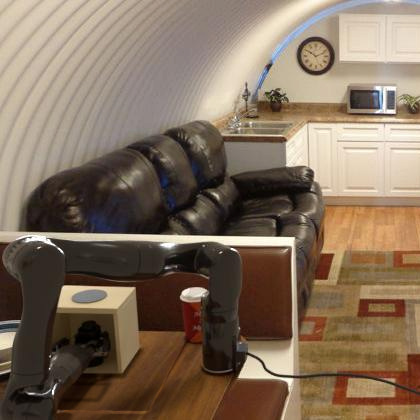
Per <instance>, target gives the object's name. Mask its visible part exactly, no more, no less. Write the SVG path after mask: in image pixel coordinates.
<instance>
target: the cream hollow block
mask: <svg viewBox="0 0 420 420" xmlns="http://www.w3.org/2000/svg"><path fill="white" fill-rule="evenodd" d="M89 320H93V321H96V324H99V325H100V326H101V334H102V333H103V332H104V331H107V332H108V333H109V339H110V345H111V349H110V352H109V355H108V358H106V359H104V362H103V363H102V364H101V365H99V366H96V367H91V368H86V369H85V370H84V372H83V373H82V374H123V373H124V371H125V370H126V368H127V367H128V366H129V364H130V363H131V361H132V360H133V358H134V357H135V355H136V354H137V352H138V351H139V349H140V348H141V347H140V334H139V318H138V304H137V291H136V287H135V286H98V285H97V286H95V285H94V286H93V285H63V286H62V290H61V294H60V298H59V303H58V308H57V312H56V317H55V323H54V329H53V338H52V345H53V344H55V343H56V342H58V341H59V340H61V339H62V338H67V339H70V337H73V336H74V335H75V334H76V333H78V328H79V327H81V326H82V323H83V322H85V321H89Z"/></svg>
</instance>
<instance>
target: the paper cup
mask: <svg viewBox="0 0 420 420" xmlns="http://www.w3.org/2000/svg"><path fill="white" fill-rule="evenodd" d="M206 291H208V290H207V289H205V287H197V286H196V287H188V288H186V289H184V290H182V291H181V294H180V296H179V299H180V300H181V309H182V316H183V317H182V318H183V325H184V334H185V338H186V341H187V342H188V343H192V344H193V343H194V344H196V343H202V328H201V296H202V294H203V293H205V292H206Z"/></svg>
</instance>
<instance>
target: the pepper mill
mask: <svg viewBox="0 0 420 420" xmlns="http://www.w3.org/2000/svg"><path fill="white" fill-rule="evenodd" d="M100 335H101V326H100V325H99V324H96V321H93V320H89V321H85V322H83V323H82V326H81V327H79V328H78V338H79V343H80V344H85V343H87V342H89V341H91V340H96V339H98V338H99V336H100ZM98 345H99V343H98ZM103 362H104V359H102V356H96V357H95V358H94V359H92V360H91V361H90V362H89V364H88V366H87V368H91V367H96V366H99V365H101V364H102V363H103Z"/></svg>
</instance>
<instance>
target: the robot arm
mask: <svg viewBox="0 0 420 420" xmlns="http://www.w3.org/2000/svg"><path fill="white" fill-rule="evenodd" d="M2 263H3V266H4V268H5V269H6V271H7V272H8V273H9V275H11V276H12V277H13V278H15V279H16V281H18V282H20V285H21V292H22V305H23V306H22V312H21V318H20V321H19V324H18V327H17V329H16V331H15V334H14V337H13V340H12V346H11V354H10V355H11V356H10V372H9V373H10V374H9V378H8V381H7V385H6V388H5V391H4V393H3V396H2V398H1V401H0V420H55V418H56V417H57V412H58V409H59V405H60V402H61V400H62V398H63V396H64V394H66V392H67V391H68V390H69V389H70V388H71V387H72V386H73V385H74V384H75V383H76V381H78V379H79V378H80V377H81V375H82V374H84V373H83V372H84V370H85V369H86V368H87V366H88V364H89V362H90V361H91V360H92V359H94V358H95V357H96V356H102V359H106V358H108V355H109V352H110V349H111V345H110V339H109V333H108V332H107V331H104V332H103V333H102V334H101V335H100V336H99V338H98V339H96V340H91V341H89V342H87V343H85V344H80V343H79V338H78V333H76V334H75V335H74V336H73V337H70V339H67V338H62V339H61V340H59V341H58V342H56V343H55V344H53V345H52V338H53V329H54V323H55V317H56V312H57V308H58V303H59V298H60V294H61V290H62V287H63V286H64V283H65V279H66V275H79V276H85V277H91V278H96V279H100V280H106V281H111V282H121V283H144V282H152V281H156V280H159V279H162V278H164V277H166V276H169V275H172V274H190V275H198V276H200V277H201V276H202V277H203V278H205V279H208V290H207V291H206V292H205V293H203V294H202V296H201V328H202V341H201V350H202V351H201V352H202V353H201V354H202V355H201V356H202V364H201V365H202V370H203V371H204V372H205V373H208V374H210V375H218V376H219V375H227V374H231V373H235V372H238V371H239V368H240V366H241V363H246V361H247V358H248V357H251V358H253V359H255V360H257V361H258V362H259V363H260V364H261V366H262V369H263V370H264V372H266V373H267V374H269V375H271V376H272V377H275V378H276V377H277V378H284V379H296V380H297V379H298V380H299V379H310V378H322V377H324V378H325V377H348V378H350V377H351V378H359V379H367V380H372V381H376V382H381V383H384V384H388V385H390V386H394V387H396V388H399V389H401V390H405V391H407V392H409V393H413V394H415V395H419V396H420V391H419V390H416V389H413V388H411V387H408V386H405V385H403V384H398V383H397V382H394V381H391V380H387V379H385V378H380V377H376V376H372V375H371V376H370V375H365V374H360V373H359V374H358V373H346V372H332V373H331V372H330V373H311V374H303V375H297V374H296V375H294V374H281V373H276V372H274V371H272V370H270V369H268V368H267V366H266V363H265V362H264V360H263V359H262V358H260V357H259V356H257V355H256V354H253V353H251V352H249V343H248V342H246V343H245V342H243V343H242V328H241V327H240V317H239V316H240V315H239V314H240V313H239V311H240V309H239V299H240V297H241V294H242V289H243V287H242V286H243V261H242V256H241V254H240V253H239V251H238V250H236V249H234V248H233V247H231V246H228V245H225V244H223V243H221V242H218V241H210V240H208V241H198V242H185V243H175V242H167V241H153V240H135V239H133V240H131V239H129V240H127V239H126V240H117V239H115V240H114V239H111V240H109V239H108V240H107V239H105V240H104V239H100V240H98V239H97V240H75V239H66V238H57V237H50V236H43V235H36V234H35V235H34V234H32V235H31V234H30V235H25V236H21V237H18V238H16V239H14V240H13V241H12V242H10V243H9V244H8V245H7V246H6V247H5V248H4V250H3V253H2ZM98 343H99V345H98ZM26 389H28V390H27V391H26Z"/></svg>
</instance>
